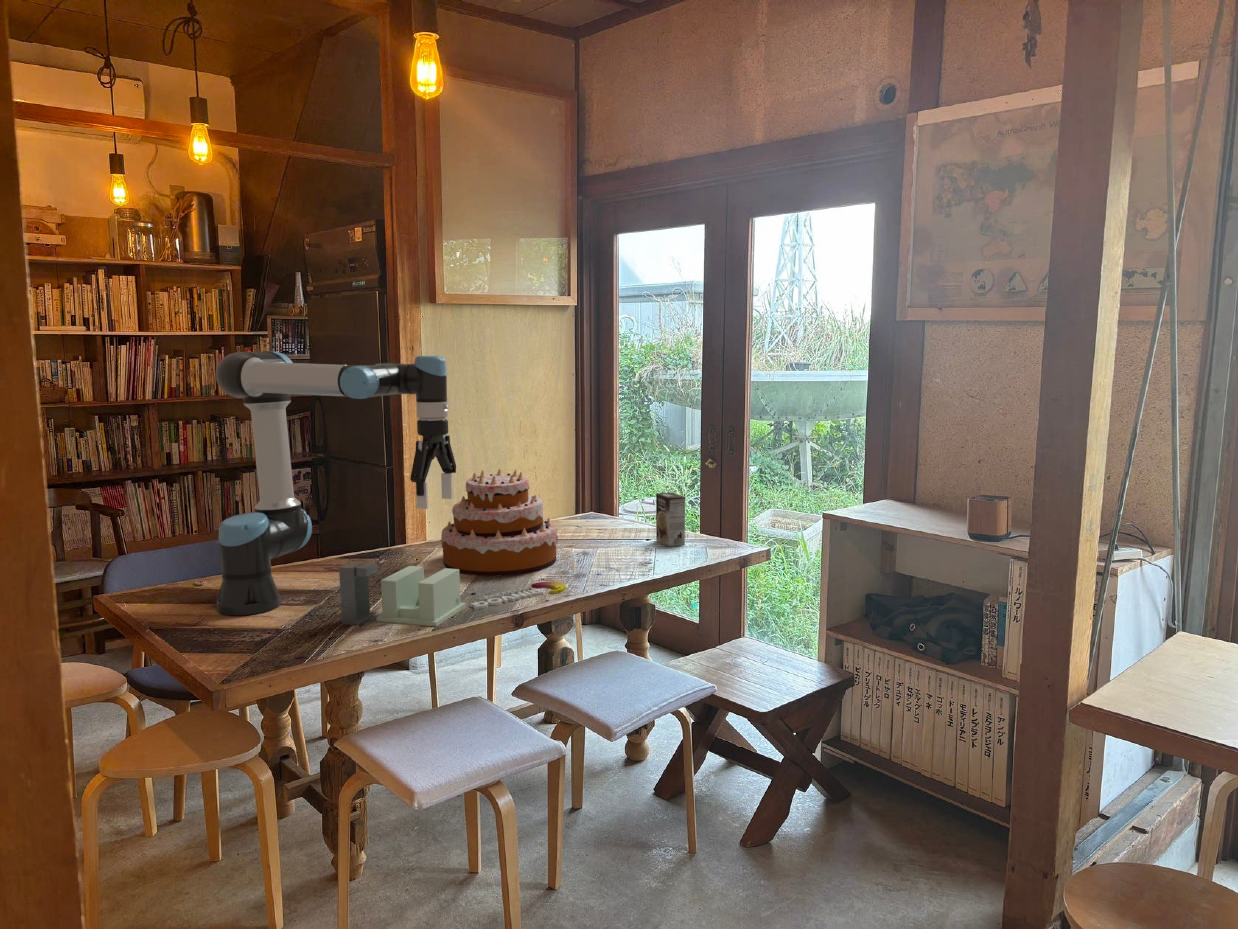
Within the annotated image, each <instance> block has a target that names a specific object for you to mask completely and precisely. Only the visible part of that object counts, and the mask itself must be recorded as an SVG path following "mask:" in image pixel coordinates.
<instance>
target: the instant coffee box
mask: <svg viewBox="0 0 1238 929" xmlns="http://www.w3.org/2000/svg"><path fill="white" fill-rule="evenodd" d="M655 496H656V497H655V504H656V505H655V508H656V509H655V512H656V513H655V516H656V518H655V521H656V524H655V526H656V527H655V531H656V532H655V533H656V535H655V536H656V537H655V538H656V540H655V541H656V542H658V543H660V544H662V545H664V546H667V547H675V546H676V547H677V546H685V540H686V538H685V537H686V536H685V534H686V532H685V531H686V529H685V528H686V496H683V495H681V494H679V493H675V492H673V491H672V492H660V493H659V492H658V493H656V494H655Z"/></svg>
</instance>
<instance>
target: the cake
mask: <svg viewBox="0 0 1238 929" xmlns="http://www.w3.org/2000/svg"><path fill="white" fill-rule="evenodd" d="M529 490H530V481H529V478H528V477H527V476H525V475H523V473H522V471H520V472H519V474H518V471H517V469H516V468H515V469H514V470H513V473H512V474H511V473H509V472H508V473H502V471H501V468H498V471H497V473H495V474H491V473H490V474H486V473H485V472H484V470H483V469H482V470H481V471H480V475H477V474H476V473H475V472H474V473H473V476H472V477H470V478H468V479H467V480H466V481H465V492H467V494H466V495H467V498H466V497H465V496H464V495H462V498H461V500H460V501H458V502H457V503H455V504H453V507H452V509H451V510H452V511H451V512H452V515H453V523H451V521H448V522H447V525H446V526H444V528H442V531H441V535H440V536H441V537H440V538H441V548H442V556H443V557H442V560H443V561H442V562H443V566H444V568H448V569H459V574H462V575H468V576H480V577H481V576H482V577H503V576H504V575H507V576H514V575H515V576H516V575H523V573H524V574H529V573H528V572H530V573H533V572H538V571H541V569H542V570H544V569H547V568H549V567H551V566H552V565H554V564H555V562H556V561H557V545H558V540H559V539H558V532H557V531H558V528H557V526H556V524H554V523H553V522H551V520H550V518H549V517H548V518H547V519H545V518H544V509H543V508H544V506H543V505H544V502H543V500H542V498H540V497H538V496H537V495H536V494H535V495H529Z"/></svg>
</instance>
